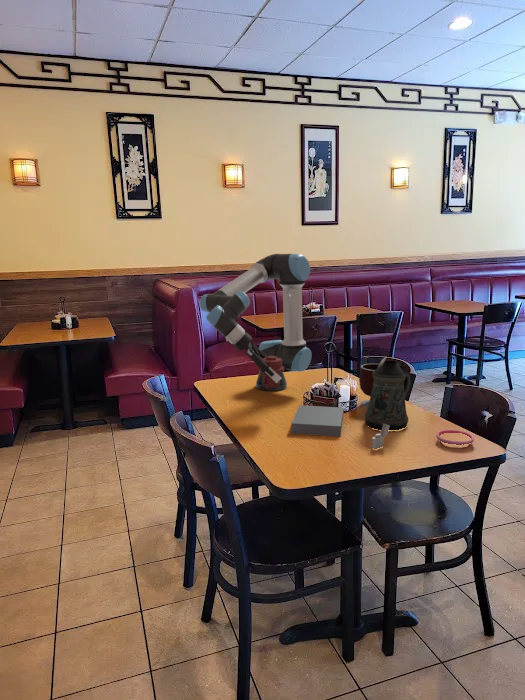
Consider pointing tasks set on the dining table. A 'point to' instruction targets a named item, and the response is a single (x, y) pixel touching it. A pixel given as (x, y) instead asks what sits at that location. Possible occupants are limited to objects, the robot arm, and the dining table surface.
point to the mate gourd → (368, 379)
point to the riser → (318, 421)
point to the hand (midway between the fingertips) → (279, 377)
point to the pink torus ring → (454, 441)
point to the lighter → (380, 437)
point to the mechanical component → (276, 366)
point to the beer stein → (388, 397)
